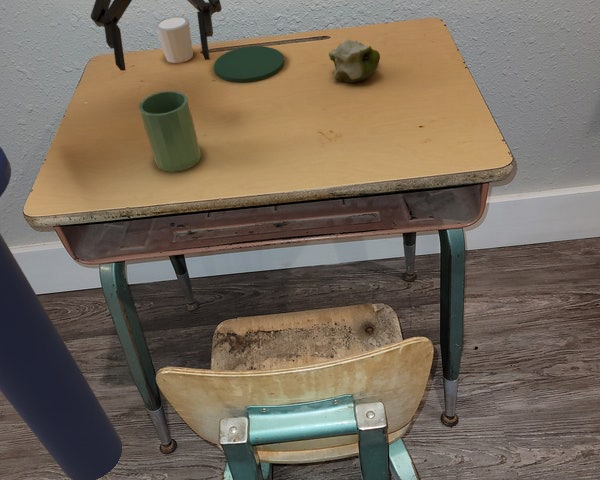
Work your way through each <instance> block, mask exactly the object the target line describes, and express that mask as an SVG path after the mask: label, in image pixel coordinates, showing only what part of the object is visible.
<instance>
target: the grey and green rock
mask: <svg viewBox="0 0 600 480" xmlns="http://www.w3.org/2000/svg"><path fill="white" fill-rule="evenodd" d="M328 57H329V60H330V61H332V62H333V65H334V69H335V70H334V73H333V78H334V79H335V80H338V81H340V82H343V83H347V84H350V83H357V82H360V81H364V80H366V79H368V78H369V77H371V76H372V75H373V74H374V72H375V71H376V70H377V68H378V66H379V64H380V59H381V54H380V52H379V50H377V49H373V48H372V46H371V45H368V46H365V45H364V44H363V42H358V41H357V40H351V39H345V40H344V41H343V42H341V43H339V44H338V45H337V48H336V49H331V50H330V51H329V52H328Z"/></svg>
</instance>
